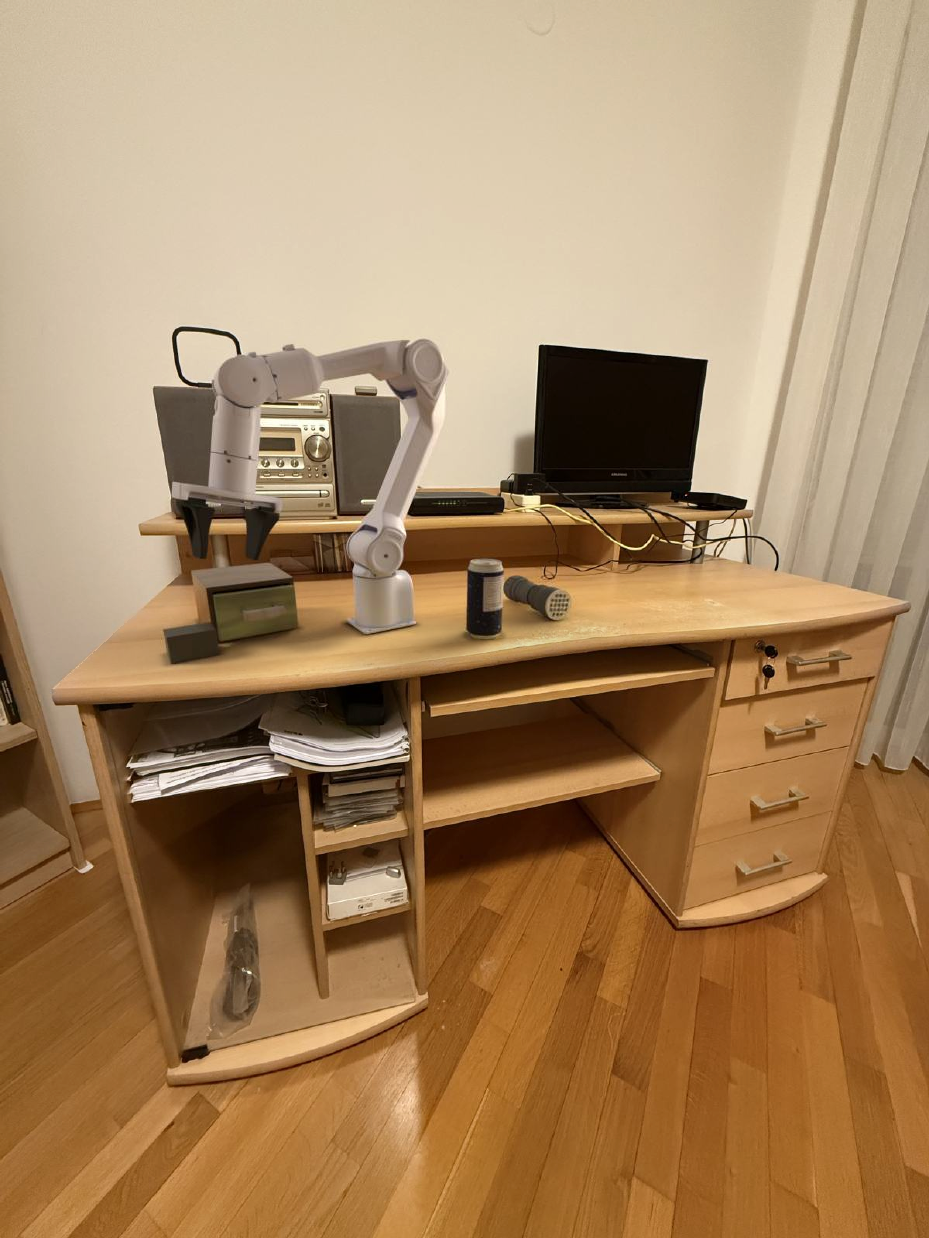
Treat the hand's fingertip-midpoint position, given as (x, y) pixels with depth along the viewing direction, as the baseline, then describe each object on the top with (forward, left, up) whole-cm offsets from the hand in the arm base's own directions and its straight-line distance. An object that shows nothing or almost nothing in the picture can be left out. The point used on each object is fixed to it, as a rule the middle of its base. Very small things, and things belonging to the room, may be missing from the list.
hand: (226, 558), depth 68 cm
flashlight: (-51, +10, -14) cm, 53 cm away
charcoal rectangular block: (+6, 0, -13) cm, 15 cm away
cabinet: (-4, -10, -13) cm, 17 cm away
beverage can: (-34, +16, -14) cm, 39 cm away
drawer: (-4, -5, -12) cm, 14 cm away
